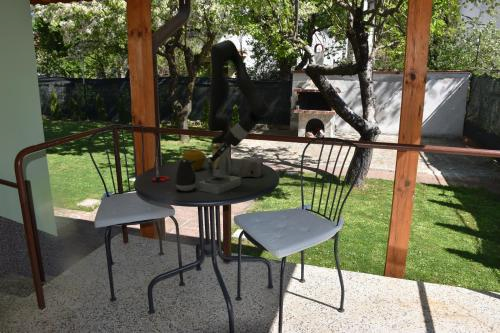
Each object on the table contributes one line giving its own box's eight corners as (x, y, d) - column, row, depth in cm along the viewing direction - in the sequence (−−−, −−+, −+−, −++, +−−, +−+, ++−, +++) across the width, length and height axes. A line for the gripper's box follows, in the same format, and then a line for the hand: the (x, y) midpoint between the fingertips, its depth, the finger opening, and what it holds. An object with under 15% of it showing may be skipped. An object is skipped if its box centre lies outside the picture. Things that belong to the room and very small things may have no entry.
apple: (194, 166, 247) (193, 147, 244) (210, 168, 239) (209, 149, 237) (178, 170, 237) (177, 151, 234) (195, 173, 229) (194, 153, 227)
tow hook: (156, 178, 223) (149, 181, 214) (155, 154, 220) (148, 157, 211) (171, 178, 221) (165, 182, 212) (170, 154, 219) (164, 157, 210)
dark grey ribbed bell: (198, 191, 195) (197, 160, 191) (176, 193, 192) (174, 162, 188) (195, 185, 204) (193, 156, 201) (174, 188, 202) (172, 157, 198)
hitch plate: (222, 181, 211) (222, 172, 210) (241, 185, 204) (241, 175, 203) (198, 190, 197) (198, 180, 195) (217, 194, 190) (217, 184, 189)
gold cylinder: (216, 167, 199) (215, 142, 197) (224, 168, 197) (223, 143, 194) (209, 169, 196) (208, 144, 193) (217, 170, 193) (216, 145, 190)
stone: (237, 178, 217) (236, 160, 215) (241, 173, 228) (240, 155, 226) (261, 179, 215) (260, 160, 213) (264, 173, 226) (263, 155, 224)
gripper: (233, 126, 198) (209, 151, 202) (228, 131, 184) (203, 157, 188) (244, 137, 198) (220, 162, 203) (240, 142, 185) (215, 168, 189)
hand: (212, 159), depth 195 cm, fingers closed on gold cylinder, 3 cm apart
